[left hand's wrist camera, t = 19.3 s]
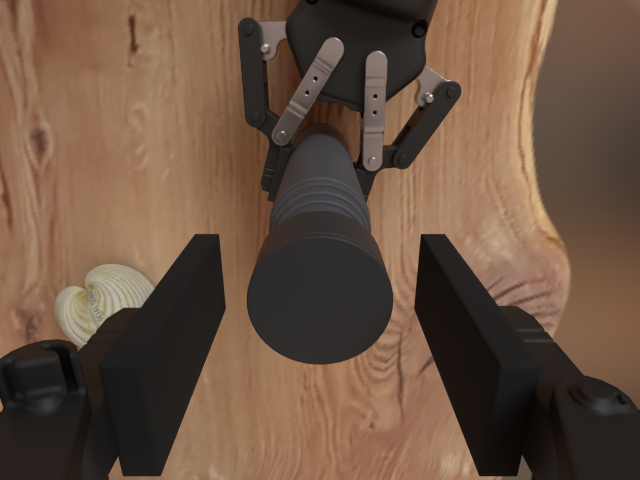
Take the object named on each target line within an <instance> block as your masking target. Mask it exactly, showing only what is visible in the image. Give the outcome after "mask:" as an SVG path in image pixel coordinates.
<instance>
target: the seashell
mask: <svg viewBox="0 0 640 480" xmlns="http://www.w3.org/2000/svg"><path fill="white" fill-rule="evenodd" d="M154 289H155V288H154V286H153V285H152V284H151V282H150V281H149V280H148V279H147V278H146V277H145V276H144V275H142V274H141V273H139V272H138V271H136V270H135V269H133V268H130V267H128V266H124V265H120V264H104V265H100V266H97V267H95V268H94V269H92V270H91V271H89V272H88V273H87V275H86V276H85V279H84V288H82V287H78V286H70V287H67V288H65V289H64V290H62V291H61V292H60V294H59V295H58V296H57V299H56V301H55V316H56V319H57V322H58V324H59V326H60V328H61V329H62V331H63V332H64V333H65V335H66V336H67V337H68V338H69V339H70V340H71V341H72V342H74V343H75V344H76V345H78V346H79V347H80V348H82V347H83V346H84V344H87V341H88V340H89V338H90V337H91V336H92V335H93V334H94V333H96V330H97V329H98V328H99V327H100V326H101V324H102V323H103V322H104V321H105V320H106V318H108V317H110V316H111V315H113V314H114V313H116V312H117V311H119V310H121V309H122V308H141V306H142V305H143V304H144V302H145V301H146V300H147V298H148V297H149V296H150V294H151V293H152V292H153V290H154Z"/></svg>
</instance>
